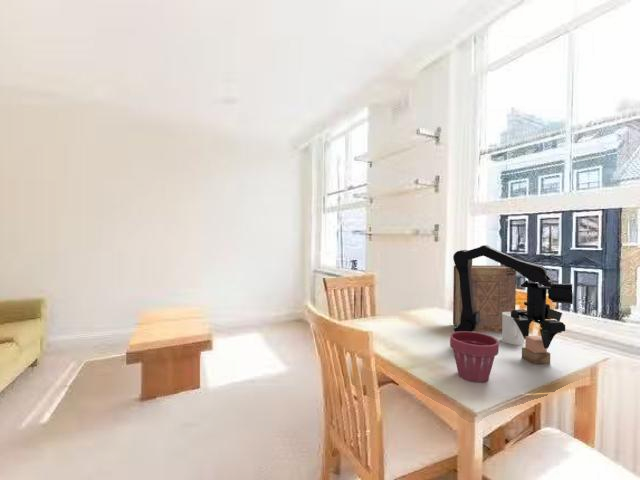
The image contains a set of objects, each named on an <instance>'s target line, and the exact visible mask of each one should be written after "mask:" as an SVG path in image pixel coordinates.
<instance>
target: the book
mask: <svg viewBox="0 0 640 480" xmlns="http://www.w3.org/2000/svg"><path fill="white" fill-rule="evenodd" d="M470 273H471V283H472V292H473V301H474V308H475V310H476V311H480V319H481V321H480V323H479V325H478V327H477V328H476V329H475V330H473V331H472V332H502V313H503V312H512V311H513V310H516V298H517V297H516V295H517V293H516V292H517V291H516V286H517V282H516V281H517V279H516V278H517V271H516V270H514V269H512V268H510V267H508V266H505V265H472V267H471V272H470ZM452 284H453V286H452V287H453V290H452V291H453V293H452V295H453V296H452V298H453V299H452V303H453V305H452V325H453V326H456V327H457V326H458V325H459V324H460V319H461V312H462V299H461V289H460V279H459V272H458V270H457V268H456V266H455V265H453V283H452Z"/></svg>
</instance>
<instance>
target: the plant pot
mask: <svg viewBox="0 0 640 480" xmlns="http://www.w3.org/2000/svg"><path fill="white" fill-rule="evenodd" d="M449 336H450V337H449V338H450V340H449V346H450V348H451V349H452V350H453V356H454V359H455V361H454V362H455V365H456V369H457V375H458V376H459V377H461V378H462V379H463V380H465V381H468V382H471V383H472V382H473V383H486V382H488V381H489V379H490V375H491V372H492V369H493V364H494V361H495V357H496V356H498V354H499V350H500V349H499V348H500V346H499V345H500V344H499V341H498V339H497V338H495V337H493V336H491V335H489V334H486V333H481V332H479V331H472V332H470V331H459V332H455V331H454V332H452V333H450V335H449Z"/></svg>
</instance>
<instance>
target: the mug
mask: <svg viewBox="0 0 640 480" xmlns="http://www.w3.org/2000/svg"><path fill="white" fill-rule="evenodd" d="M513 319H515V318H512V317H511V312H503V313H502V331H501V339H500V340H501V342H502V343H506V344H511V345H518V346H519V345H520V346H521V345H524V344H525V339H524V337H523V335H522V333H521V331H520V329H519V327H518V326H517V324H516V322H515V321H514V320H513Z"/></svg>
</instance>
